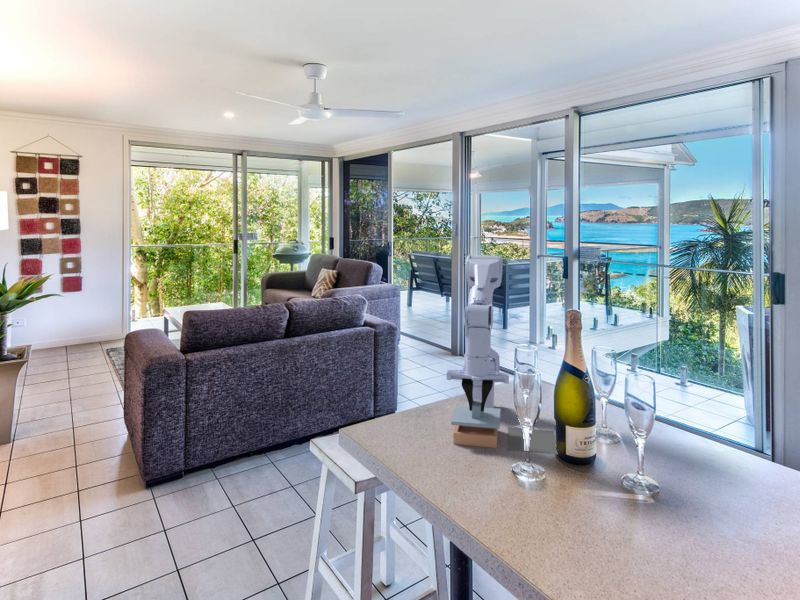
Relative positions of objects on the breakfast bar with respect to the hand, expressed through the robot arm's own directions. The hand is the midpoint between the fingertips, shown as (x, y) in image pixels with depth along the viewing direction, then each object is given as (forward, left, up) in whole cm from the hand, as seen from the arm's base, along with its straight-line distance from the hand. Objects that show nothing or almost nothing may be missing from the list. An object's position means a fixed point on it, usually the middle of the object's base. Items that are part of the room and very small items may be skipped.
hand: (476, 409), depth 118 cm
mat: (-1, +13, -8) cm, 15 cm away
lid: (0, 0, -2) cm, 2 cm away
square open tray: (0, 0, -8) cm, 8 cm away
